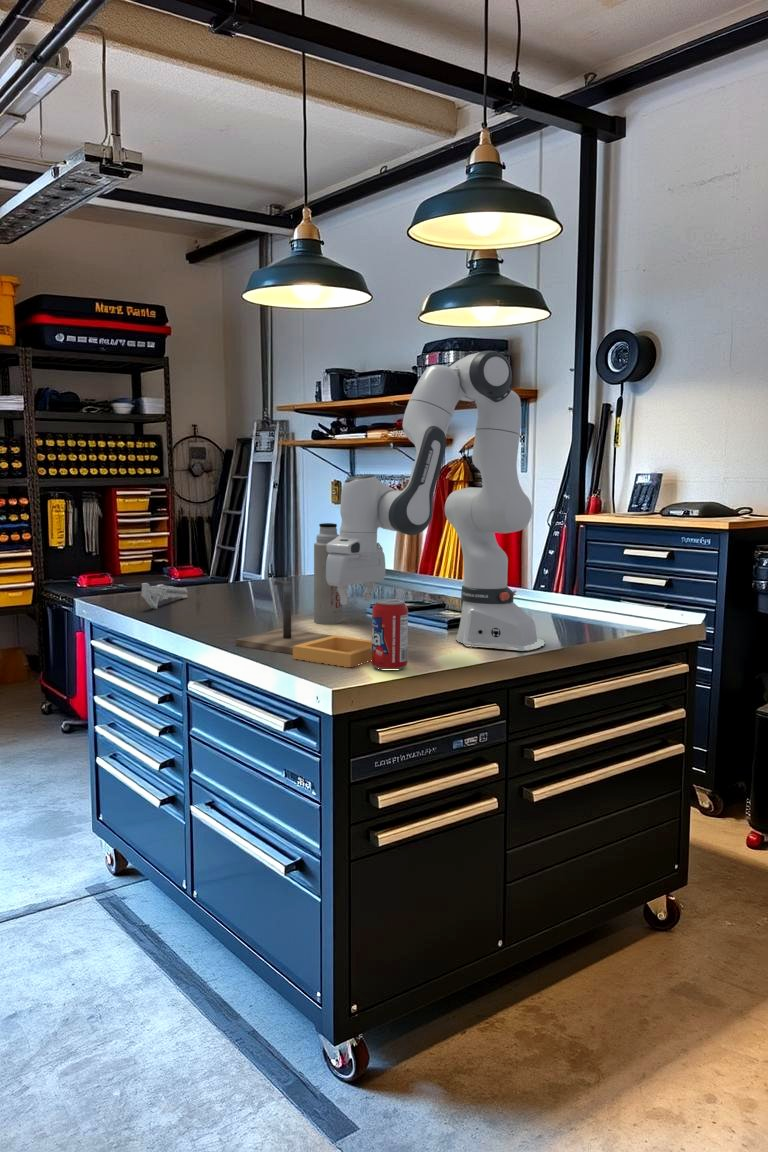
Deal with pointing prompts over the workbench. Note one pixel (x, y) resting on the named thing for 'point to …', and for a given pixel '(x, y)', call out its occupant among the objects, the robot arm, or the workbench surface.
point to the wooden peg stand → (280, 631)
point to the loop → (335, 651)
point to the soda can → (389, 634)
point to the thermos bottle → (324, 594)
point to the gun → (160, 593)
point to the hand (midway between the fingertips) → (356, 602)
